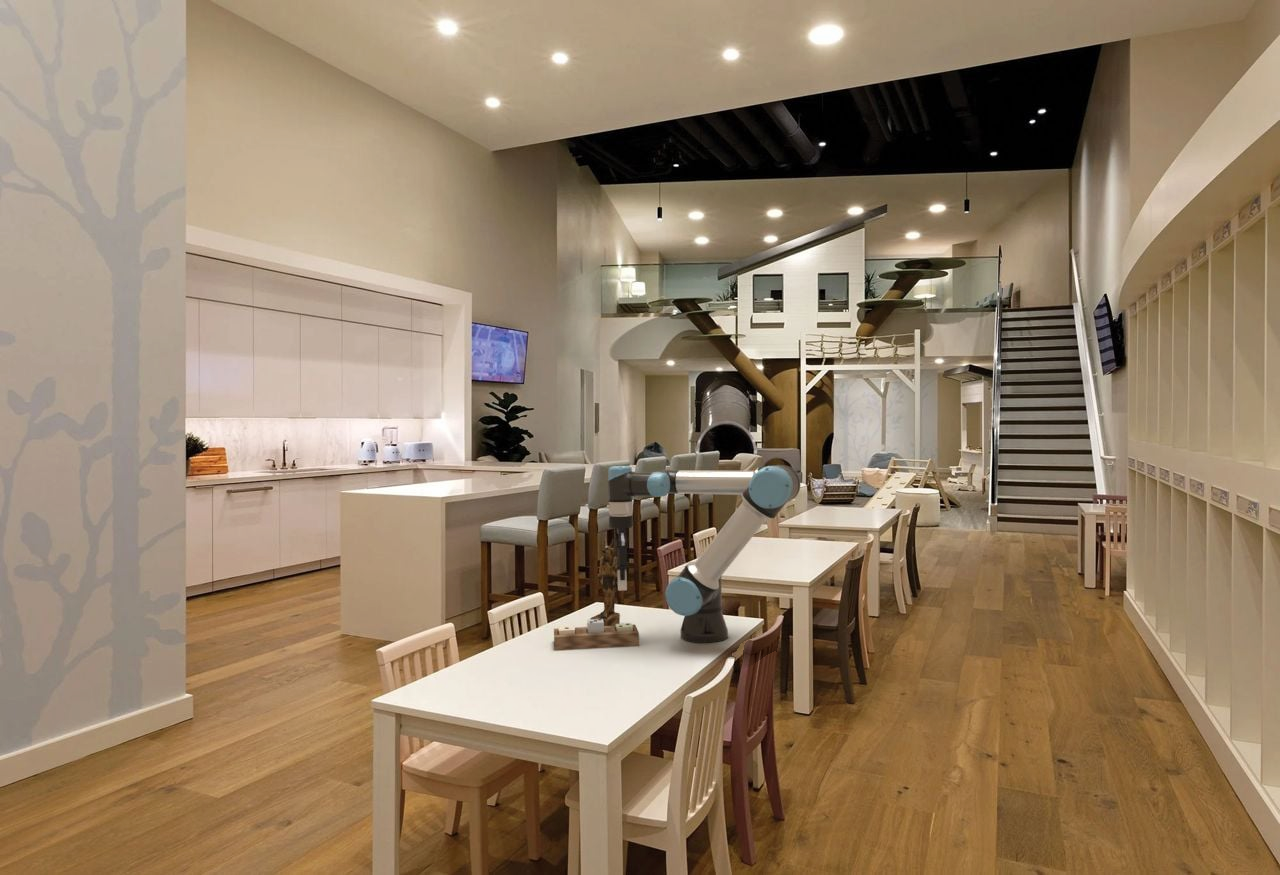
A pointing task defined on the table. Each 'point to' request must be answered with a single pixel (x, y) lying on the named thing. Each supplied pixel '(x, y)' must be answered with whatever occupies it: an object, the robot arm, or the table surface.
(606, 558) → the statue
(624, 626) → the pale green block
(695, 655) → the table surface
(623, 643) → the wooden tray
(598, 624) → the button
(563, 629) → the button
